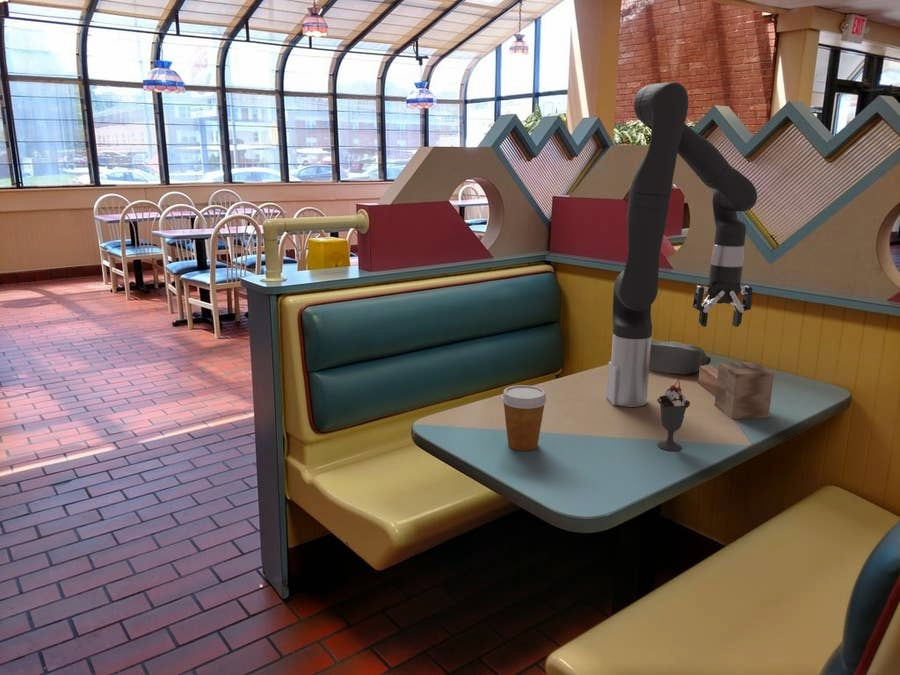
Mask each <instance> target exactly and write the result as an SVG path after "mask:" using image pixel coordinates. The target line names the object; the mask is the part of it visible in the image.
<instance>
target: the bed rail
mask: <svg viewBox="0 0 900 675" xmlns="http://www.w3.org/2000/svg"><path fill="white" fill-rule="evenodd" d="M717 378H718V370H717V369H716V368H715V367H714V366H712V365H704V366H700V368H699V370H698V380H697V384H698V385H699V386H701V387H702V388H703V389H704V390H706V391H707V392H709V393H710V394H711V395H712V396H714V397H716V387H717Z"/></svg>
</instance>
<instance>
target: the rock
mask: <svg viewBox="0 0 900 675" xmlns="http://www.w3.org/2000/svg"><path fill="white" fill-rule="evenodd" d="M711 360H712V358H711V357H710V356H708V355H707V354H706V353H705V350H704V349H703V348H702V347H699V346H697V345H695V344H685V343H682V342H677V341H660V340H656V339H651V351H650V364H649V370H651V371H653V370H655V371H654V372H656V371H659V372H658V373H662V372H665V373H664V374H679V375H686V376H687V375H689V374H692V373H697V372H699V368H700V366H709V364H710V363H711Z"/></svg>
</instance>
